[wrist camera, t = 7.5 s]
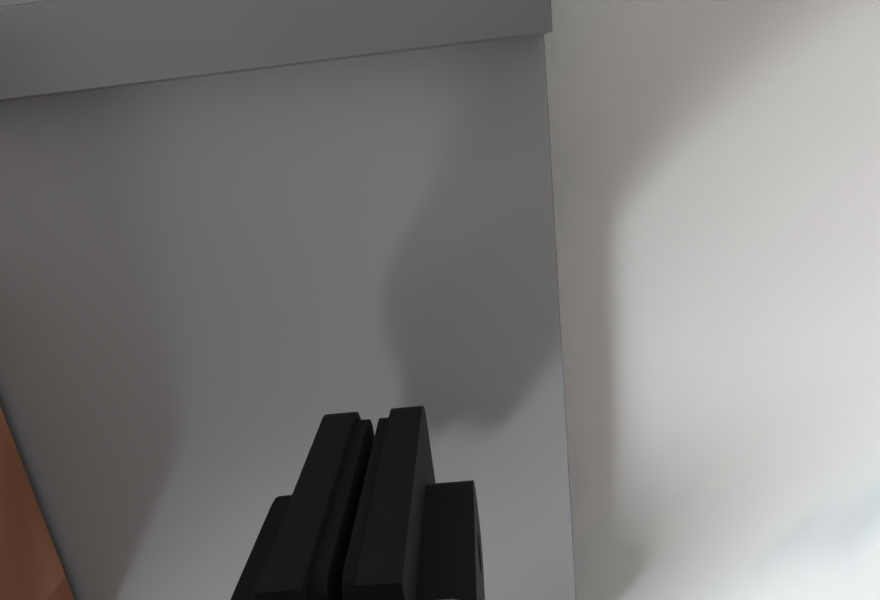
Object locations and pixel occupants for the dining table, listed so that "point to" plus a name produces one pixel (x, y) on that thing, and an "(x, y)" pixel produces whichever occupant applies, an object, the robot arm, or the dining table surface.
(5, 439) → the block
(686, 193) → the dining table surface
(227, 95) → the grey open tray
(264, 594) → the robot arm
